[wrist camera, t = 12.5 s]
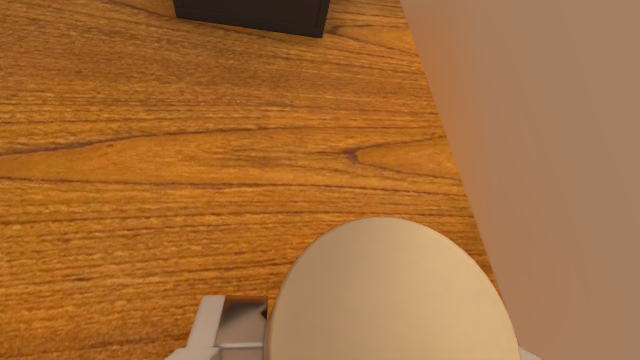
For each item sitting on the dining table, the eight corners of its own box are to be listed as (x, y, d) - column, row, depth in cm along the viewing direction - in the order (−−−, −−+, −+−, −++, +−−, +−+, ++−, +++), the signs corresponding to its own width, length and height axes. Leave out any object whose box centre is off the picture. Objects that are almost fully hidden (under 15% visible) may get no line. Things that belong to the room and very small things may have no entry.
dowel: (350, 297, 13) (485, 219, 5) (357, 402, 12) (566, 504, 4) (262, 297, 13) (273, 209, 5) (256, 408, 11) (258, 541, 3)
